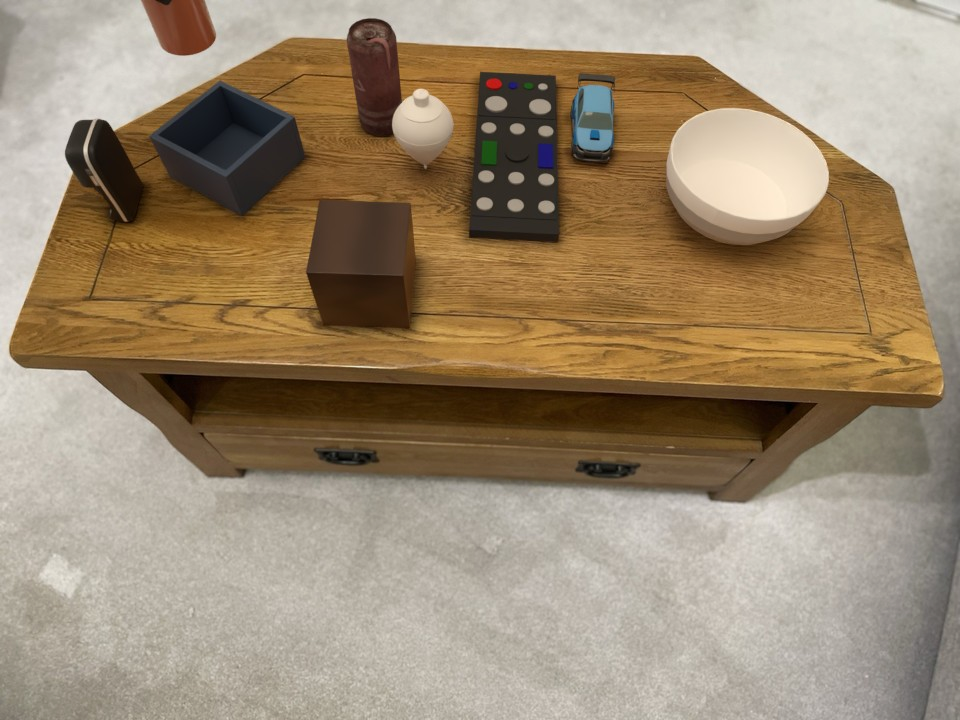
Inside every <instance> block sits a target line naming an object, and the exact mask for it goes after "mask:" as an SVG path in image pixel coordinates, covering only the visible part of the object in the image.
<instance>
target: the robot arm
mask: <svg viewBox="0 0 960 720" xmlns="http://www.w3.org/2000/svg"><path fill="white" fill-rule="evenodd" d="M155 1H157V2H160V3H162V4H164V5H169V4H170V2H171V1H172V0H155Z"/></svg>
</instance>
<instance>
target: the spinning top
mask: <svg viewBox="0 0 960 720" xmlns="http://www.w3.org/2000/svg"><path fill="white" fill-rule="evenodd" d="M392 129H393V136H394V139H395V140H396V142H397V143H398V145H399V146H400V147H401V148H402V150H403V151H404V152H405V153H406V154H407V155H408V156H410V157H411V158H412V159H413V160H414V161H416V162H418V163H420V164H422V165H423V169H425V170H427V169H428V165H429V164H430V163H432V162H433V161H435V160H436V158H438V156H440V154H442V153H443V152H444V150H445V148H446V147H447V146H448V144H449V142H450V141H451V138H452V136H453V132H454V119H453V115H452V112H451V111H450V109H449V108H448V106H446V104H445V103H444V102H443V101H441V100H440V99H439V98H438V97H436V96H435V95H433V94H430V93H429V91H428V90H427V89H425V88H416V89H415V90H413V92H412V95H410V96H408V97H406V98H405V99H404V100H402V103H401V104H400V105H399V106H398V108H397V109H396V111H395V113H394V116H393V120H392Z"/></svg>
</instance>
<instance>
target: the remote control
mask: <svg viewBox="0 0 960 720" xmlns="http://www.w3.org/2000/svg"><path fill="white" fill-rule="evenodd" d="M477 95H478V97H477V109H476V110H477V111H476V125H475V138H474V139H475V140H474V154H473V166H472V168H473V169H472V170H473V171H472V182H471V183H472V184H471V197H470V198H471V199H470V212H469V228H468V238H471V239H488V240H490V239H491V240H510V241H527V242H528V241H530V242H547V243H558V241H559V236H560V221H559V219H560V217H559V213H560V212H559V211H560V210H559V172H558V171H559V169H558V167H559V166H558V165H559V163H558V117H557V114H558V113H557V112H558V111H557V110H558V109H557V108H558V107H557V75H554V74H553V75H552V74H551V75H549V74H534V73H533V74H532V73H512V72H497V71H496V72H494V71H492V72H491V71H480V72H479V81H478V93H477Z"/></svg>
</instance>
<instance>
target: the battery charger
mask: <svg viewBox="0 0 960 720" xmlns="http://www.w3.org/2000/svg"><path fill="white" fill-rule="evenodd" d="M64 157H65V161H66V163H67V165H68V166H69V168H70V170H71V171H72V173H73V175H74V176H75V178H76V180H77V181H78V182H79V183H80V184H81V186H82V187H83V188H87V189H93V190H95V191H96V192H98V193H99V194H100V195H101V196H102V198H103V199H104V201H105V202H106V203H107V205H108V206H109V209H108V213H107V215H108V218H110V219H111V220H113V221H115V222H124V223H129V222H133V221H134V219H135V217H136V214H137V209H138V206H139V203H140V199H141V195H142V192H143V187H144V182H143V181H142V178H140V176H139V174H138V172H137V170H136V169H135V166H134V165H133V164H132V161H131V159H130V157H129V156H128V154H127V152H126V150H125V148H124V146H123V143H122V142H121V141H120V139H119V137H118V135H117V134H116V132H115V130H114V129H113V128H112V126H111V124H110V122H108V121H107V120H105V119H102V118H93V119H80V120H77V121H76V122H75V123H74V125H73V127H72V129H71V132H70V134H69V137H68V141H67V142H66V146H65V150H64Z"/></svg>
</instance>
